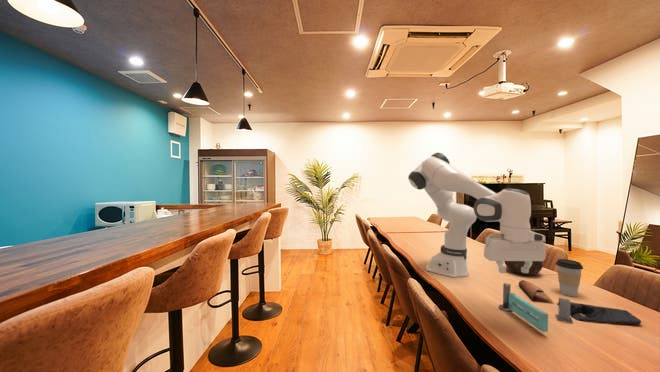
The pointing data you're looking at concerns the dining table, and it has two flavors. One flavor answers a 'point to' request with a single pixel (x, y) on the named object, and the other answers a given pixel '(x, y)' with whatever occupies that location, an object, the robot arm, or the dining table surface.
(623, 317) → the dark slate chunk
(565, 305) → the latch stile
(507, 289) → the hinge post
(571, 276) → the coffee cup
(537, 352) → the dining table surface
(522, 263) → the dark brown vase
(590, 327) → the dining table surface
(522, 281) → the sunglasses case
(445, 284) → the dining table surface
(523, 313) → the gate
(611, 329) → the dining table surface
